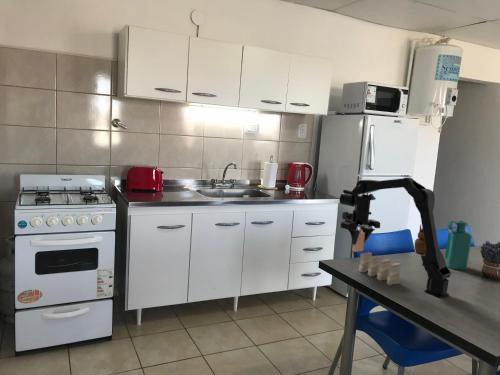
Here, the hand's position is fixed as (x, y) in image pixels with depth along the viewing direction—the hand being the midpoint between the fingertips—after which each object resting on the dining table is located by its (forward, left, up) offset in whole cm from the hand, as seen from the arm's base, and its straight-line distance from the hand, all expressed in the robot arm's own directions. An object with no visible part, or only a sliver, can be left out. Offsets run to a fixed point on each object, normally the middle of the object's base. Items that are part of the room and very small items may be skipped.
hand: (358, 244), depth 182 cm
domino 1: (0, 0, -3) cm, 3 cm away
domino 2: (-5, 0, -11) cm, 12 cm away
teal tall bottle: (-15, -49, -11) cm, 52 cm away
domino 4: (-15, 0, -11) cm, 18 cm away
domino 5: (-20, 0, -11) cm, 23 cm away
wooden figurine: (+6, -53, -11) cm, 54 cm away
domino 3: (-10, 0, -11) cm, 15 cm away
